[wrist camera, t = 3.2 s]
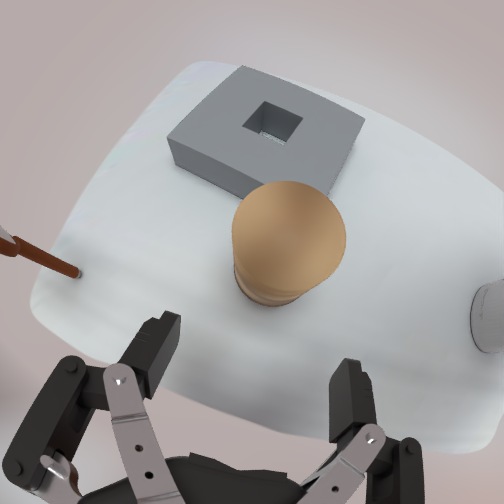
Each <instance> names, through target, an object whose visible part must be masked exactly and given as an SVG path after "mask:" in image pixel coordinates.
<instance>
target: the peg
mask: <svg viewBox="0 0 504 504" xmlns="http://www.w3.org/2000/svg"><path fill="white" fill-rule="evenodd" d="M232 244H233V255H234V273H235V278H236V281H237V284H238V286H239V288H240V289H241V291H242V292H243V293H244V294H245V295H246V296H247V297H248V298H249V299H251V300H252V301H254V302H256V303H258V304H260V305H263V306H269V307H277V306H283V305H286V304H289V303H291V302H293V301H294V300H296V299H297V298H299V297H300V296H301V295H303V294H304V293H306V292H307V291H309V290H310V289H312V288H314V287H315V286H317V285H318V284H320V283H321V282H323V281H324V280H326V279H327V278H328V277H329V276H330V275H331V274H332V273H333V272H334V271H335V270H336V269H337V267H338V266H339V264H340V262H341V260H342V257H343V255H344V251H345V246H346V232H345V226H344V223H343V220H342V217H341V215H340V213H339V211H338V210H337V208H336V207H335V205H334V204H333V203H332V202H331V201H330V200H329V199H328V197H326V196H325V195H324V194H323V193H321V192H320V191H318V190H317V189H315V188H313V187H311V186H309V185H306V184H303V183H300V182H295V181H276V182H271V183H267V184H265V185H262V186H260V187H258V188H257V189H255V190H253V191H252V192H251V193H249V194H248V195H247V196H246V197H245V198H244V200H243V201H242V202H241V203H240V205H239V207H238V208H237V210H236V213H235V215H234V219H233V223H232Z"/></svg>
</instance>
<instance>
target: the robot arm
mask: <svg viewBox="0 0 504 504" xmlns="http://www.w3.org/2000/svg"><path fill="white" fill-rule="evenodd" d="M180 323H181V315H178V314H175V313H172V312H169V311H165V312H164V313H163V314H162V316H161V318H160V319H156V318H153V317H152V318H151V319H149V320H147V321H146V322H144V323H143V325H142V326H141V328H140V329H139V332H137V334H136V336H135V338H134V339H133V340H132V342H131V343H130V345H129V346H128V348H127V349H126V351H125V352H124V354H123V356H122V357H121V359H120V360H119V361H118V362H117V363H116V364H112V365H110V366H108V367H107V368H100V367H94V366H88V365H86V364H85V362H84V361H83V360H82V359H81V358H80V357H77V356H66V357H64V358H63V359H61V360H60V362H59V363H58V364H57V366H56V368H55V369H54V370H53V372H52V374H51V375H50V377H49V378H48V380H47V382H46V383H45V384H44V386H43V388H42V389H41V391H40V393H39V394H38V396H37V398H36V399H35V401H34V402H33V404H32V406H31V408H30V409H29V411H28V413H27V415H26V416H25V418H24V420H23V422H22V423H21V425H20V427H19V429H18V431H17V433H16V435H15V436H14V438H13V440H12V442H11V444H10V446H9V448H8V450H7V453H6V454H5V457H4V459H3V462H2V468H3V472H4V474H5V476H6V477H7V479H8V480H9V481H10V482H12V483H13V484H15V485H17V486H19V487H20V488H22V489H23V490H25V491H27V492H29V493H31V494H33V495H36V496H38V497H40V498H42V499H43V500H45V501H46V502H48V503H49V504H345V503H346V502H347V500H348V499H349V498H350V497H351V496H352V494H353V493H354V492H355V491H356V489H357V488H358V487H359V485H360V484H361V483H362V481H363V480H364V478H365V476H364V472H367V490H366V504H425V494H424V493H425V492H424V472H423V460H422V449H421V445H420V443H419V442H418V441H417V440H416V439H414V438H411V437H408V438H405V439H403V440H402V441H398V440H395V439H392V438H389V437H387V436H385V433H384V431H383V429H382V428H381V427H380V426H378V425H377V420H376V412H375V404H374V399H373V391H372V383H371V380H370V378H369V376H368V374H367V373H366V372H362V368H361V363H360V361H359V360H353V359H348V358H345V359H343V361H342V362H341V364H340V365H339V367H338V368H337V370H336V371H335V372H334V374H333V375H332V377H331V379H330V383H329V443H337V449H335V450H334V452H333V453H332V454H331V455H330V456H329V457H328V458H327V459H326V460H325V461H324V462H323V463H322V464H321V466H320V467H319V468H318V469H317V470H316V471H315V472H314V473H313V474H312V475H310V476H309V477H308V478H307V479H305V480H304V481H303V482H302V483H301V484H300V485H299V484H297V483H296V482H294V481H292V480H290V479H288V478H287V473H284V472H275V471H270V470H242V471H240V470H236V469H234V468H231V467H230V466H227V465H225V464H223V463H221V462H219V461H217V460H215V459H212V458H208V457H205V456H201V455H198V454H194V453H191V452H190V455H189V457H187V456H177V457H170V458H166V459H164V457H163V455H162V452H161V450H160V447H159V444H158V442H157V439H156V437H155V434H154V431H153V428H152V426H151V423H150V420H149V417H148V415H147V413H146V410H145V407H144V404H143V400H144V398H145V397H146V398H148V399H152V397H153V395H154V393H155V391H156V389H157V387H158V385H159V383H160V381H161V379H162V376H163V374H164V372H165V370H166V368H167V366H168V364H169V362H170V360H171V358H172V356H173V354H174V352H175V350H176V348H177V345H178V342H179V337H180ZM471 328H472V334H473V337H474V341H475V343H476V345H477V346H478V347H479V349H480V350H482V351H483V352H487V353H490V352H504V279H502V280H499V281H496V282H493V283H490V284H487V285H484V286H483V287H481V288H480V289H479V291H478V292H477V294H476V296H475V298H474V302H473V305H472V311H471ZM96 409H100V410H106V411H110V413H111V417H112V420H111V421H112V426H113V430H114V434H115V438H116V441H117V444H118V448H119V451H120V454H121V458H122V461H123V464H124V467H125V470H126V472H127V475H128V477H126V478H124V479H122V480H120V481H117V482H115V483H113V484H110V485H108V486H106V487H103V488H101V489H98V490H96V491H93V492H90V493H88V494H86V495H84V496H82V495H81V493H80V492H79V489H78V486H77V485H78V472H77V470H76V468H75V467H74V465H73V464H72V463H71V461H72V459H73V457H74V455H75V452H76V450H77V448H78V445H79V443H80V441H81V439H82V437H83V435H84V433H85V430H86V428H87V426H88V424H89V422H90V420H91V418H92V416H93V414H94V412H95V410H96Z"/></svg>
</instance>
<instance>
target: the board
mask: <svg viewBox="0 0 504 504" xmlns="http://www.w3.org/2000/svg"><path fill="white" fill-rule="evenodd" d="M364 121H365V119H364V118H363V117H361V116H359V115H357V114H355V113H354V112H352V111H350V110H348V109H346V108H344V107H342V106H340V105H338V104H336V103H334V102H332V101H330V100H328V99H326V98H324V97H322V96H320V95H317V94H315V93H313V92H311V91H308V90H306V89H304V88H302V87H299V86H297V85H294V84H292V83H290V82H287V81H285V80H282V79H280V78H277V77H274V76H272V75H269V74H266V73H263V72H261V71H258V70H255V69H252V68H249V67H246V66H241V67H239V68H238V69H237V70H236V71H235V72H233V73H232V74H231V75H230V76H229V77H228V78H227V79H225V80H224V81H223V82H222V83H221V84H220V85H219V86H217V87H216V88H215V89H214V90H213V91H212V92H211V93H210V94H209V95H208V96H207V97H206V98H204V99H203V100H202V101H201V102H200V103H199V104H198V105H197V106H196V107H195V108H194V109H193V110H192V111H191V112H190V113H189V114H188V115H187V116H186V117H185V118H184V119H183V120H182V121H181V122H180V123H179V124H178V125H177V126H176V127H175V128H174V129H173V131H172V132H171V133H170V134H169V135H168V136H167V140H168V143H169V146H170V149H171V152H172V155H173V158H174V161H175V164H176V165H178V166H180V167H182V168H184V169H185V170H187V171H189V172H191V173H193V174H195V175H197V176H199V177H201V178H203V179H205V180H207V181H209V182H211V183H213V184H215V185H217V186H219V187H221V188H222V189H224V190H226V191H228V192H230V193H232V194H234V195H236V196H238V197H239V198H241V199H243V200H244V198H245V197H246V196H247V195H248V194H249V193H251V192H252V191H253V190H255V189H257V188H258V187H260V186H262V185H265V184H267V183H271V182H276V181H295V182H300V183H303V184H306V185H309V186H311V187H313V188H315V189H317V190H318V191H320V192H321V193H323V194H324V195H325V196H326V197H327V195H328V193H329V191H330V189H331V187H332V186H333V184H334V182H335V180H336V178H337V176H338V174H339V172H340V170H341V168H342V166H343V164H344V162H345V160H346V158H347V156H348V154H349V152H350V150H351V148H352V146H353V144H354V142H355V140H356V138H357V136H358V134H359V132H360V130H361V128H362V126H363V123H364ZM261 130H262V131H265V132H267V133H269V134H271V135H273V136H275V137H278V138H280V139H282V140H284V141H286V143H285V145H284V146H283V145H281V144H279V143H277V142H275V141H273V140H271V139H269V138H267V137H264V136H262V135H260V134H259V132H260V131H261Z"/></svg>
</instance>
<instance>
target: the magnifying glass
mask: <svg viewBox="0 0 504 504" xmlns="http://www.w3.org/2000/svg"><path fill="white" fill-rule="evenodd" d="M0 254H3V255H6V256H9V257H16V256H17V254H19V255H21V256H23V257H25V258H28V259H30V260H32V261H34V262H36V263H39V264H41V265H43V266H45V267H48V268H50V269H52V270H55V271H57V272H59V273H62V274H64V275H66V276H69V277H71V278H76V277H77V278H79V277H80V275H81V272H80V271H79V270H78V268H77V267H75V266H73V265H70V264H68V263H66V262H64V261H62V260H60V259H58V258H56V257H54V256H52V255H50V254H49V253H46V252H45V251H43V250H41V249H39V248H37V247H35V246H33V245H31V244H29V243H28V242H26V241H24V240H22V239H21V238H19V237H17V236H13V237H12V236H11V235H9V234H8V233H7V232H6V231H5V230H4V229H3V228H2V227H1V226H0Z"/></svg>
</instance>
